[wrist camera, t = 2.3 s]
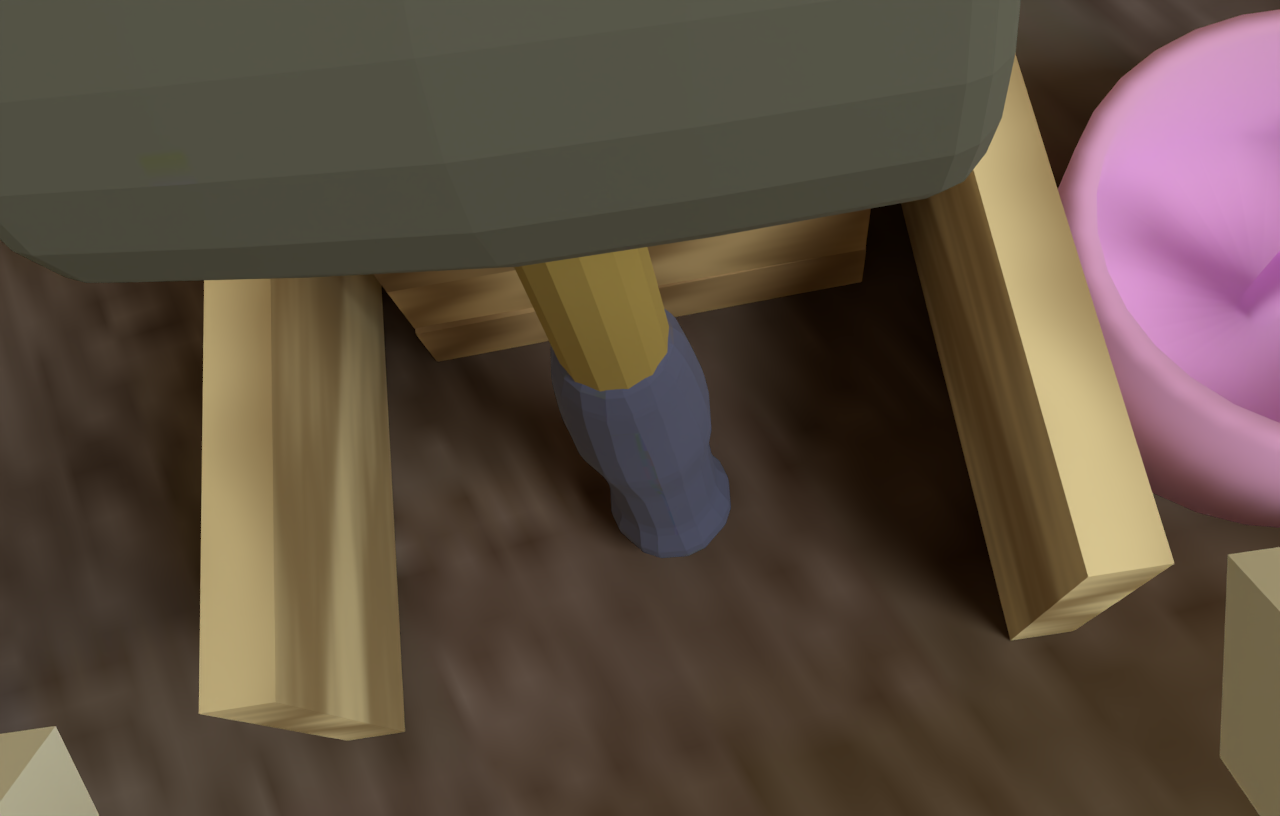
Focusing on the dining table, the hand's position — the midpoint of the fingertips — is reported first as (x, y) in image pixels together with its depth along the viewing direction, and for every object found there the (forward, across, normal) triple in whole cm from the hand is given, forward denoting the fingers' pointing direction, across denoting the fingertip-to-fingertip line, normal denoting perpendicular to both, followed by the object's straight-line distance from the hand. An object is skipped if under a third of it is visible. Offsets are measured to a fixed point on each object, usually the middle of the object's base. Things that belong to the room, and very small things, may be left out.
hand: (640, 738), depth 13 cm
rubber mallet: (+24, -1, -10) cm, 26 cm away
